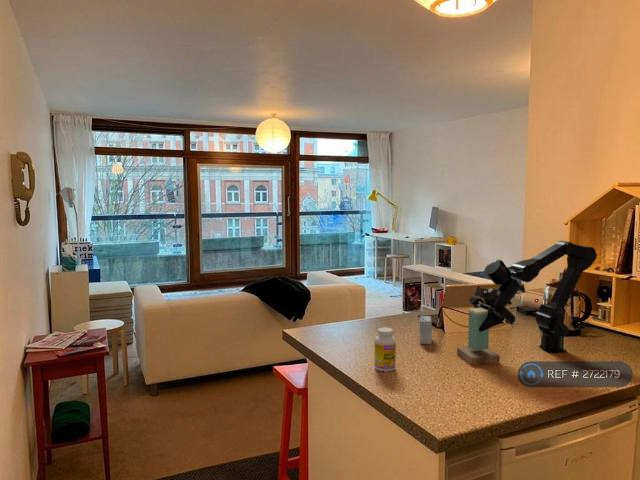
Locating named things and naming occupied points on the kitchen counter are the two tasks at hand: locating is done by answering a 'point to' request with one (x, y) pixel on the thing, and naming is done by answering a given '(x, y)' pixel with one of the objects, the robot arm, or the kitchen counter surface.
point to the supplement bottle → (385, 350)
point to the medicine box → (425, 330)
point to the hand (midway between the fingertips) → (475, 328)
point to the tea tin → (476, 337)
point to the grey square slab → (478, 356)
